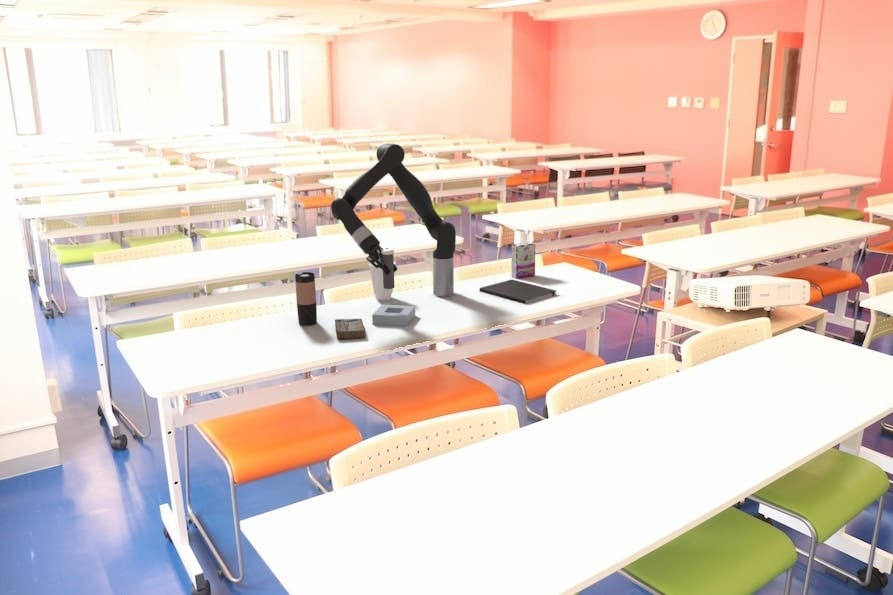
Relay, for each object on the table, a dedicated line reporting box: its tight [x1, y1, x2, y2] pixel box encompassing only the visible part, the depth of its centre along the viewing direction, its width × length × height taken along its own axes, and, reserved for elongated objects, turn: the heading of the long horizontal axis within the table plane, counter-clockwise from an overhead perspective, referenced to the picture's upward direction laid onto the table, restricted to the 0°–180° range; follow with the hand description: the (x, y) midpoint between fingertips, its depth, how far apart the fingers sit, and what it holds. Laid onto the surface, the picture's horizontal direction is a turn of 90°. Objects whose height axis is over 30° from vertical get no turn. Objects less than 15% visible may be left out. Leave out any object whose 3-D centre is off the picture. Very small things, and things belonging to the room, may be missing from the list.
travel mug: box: [294, 271, 318, 327], centre depth 291 cm, size 8×8×20 cm
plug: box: [381, 248, 395, 289], centre depth 292 cm, size 5×5×15 cm
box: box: [334, 318, 366, 340], centre depth 282 cm, size 11×17×3 cm, turn 11°
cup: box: [368, 261, 396, 301], centre depth 324 cm, size 12×12×16 cm
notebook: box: [479, 279, 557, 305], centre depth 333 cm, size 22×2×28 cm
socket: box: [371, 303, 416, 327], centre depth 296 cm, size 14×14×4 cm
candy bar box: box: [511, 241, 536, 280], centre depth 359 cm, size 11×5×16 cm, turn 119°
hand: (392, 272), depth 292 cm, fingers closed on plug, 4 cm apart
